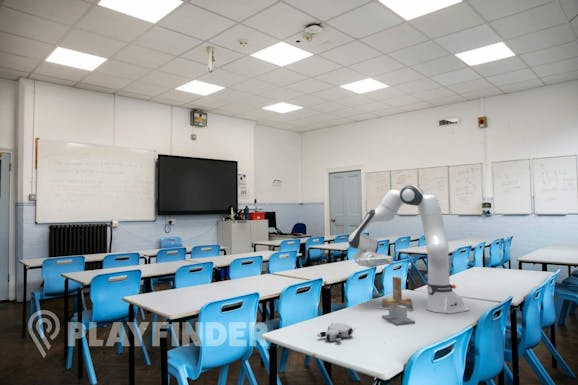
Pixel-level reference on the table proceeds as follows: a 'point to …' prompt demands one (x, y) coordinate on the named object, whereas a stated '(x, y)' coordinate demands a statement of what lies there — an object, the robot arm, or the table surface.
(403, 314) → the ridge stand
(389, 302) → the wooden t-shaped block
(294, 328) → the table surface
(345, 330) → the robot toy
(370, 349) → the table surface
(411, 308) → the packaged product
